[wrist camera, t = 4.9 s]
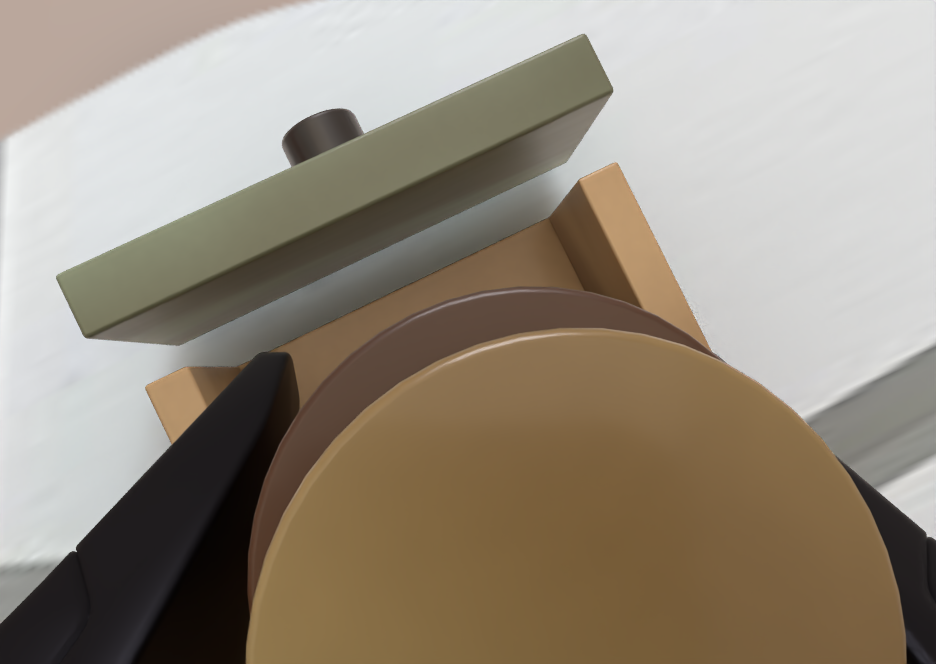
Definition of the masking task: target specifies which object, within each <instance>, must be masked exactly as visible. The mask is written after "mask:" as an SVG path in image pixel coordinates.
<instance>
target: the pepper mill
mask: <svg viewBox="0 0 936 664" xmlns="http://www.w3.org/2000/svg"><path fill="white" fill-rule="evenodd" d="M247 596H248V605H249V614H250V621H249V628H248V634H247V641H246V664H907V658H906V633H905V627H904V620H903V614H902V607H901V601H900V595H899V590H898V586H897V583H896V579H895V576H894V572H893V569H892V565H891V562H890V558H889V555H888V551H887V549H886V546H885V544H884V542H883V539H882V537H881V535H880V532H879V530H878V528H877V525H876V523H875V521H874V518H873V516H872V513H871V511H870V509H869V508H868V506H867V504H866V503H865V501H864V499H863V497H862V496H861V494H860V492H859V491H858V489H857V487H856V485H855V484H854V482H853V480H852V479H851V477H850V475H849V474H848V472H847V471H846V470H845V468H844V467H843V466H842V464H841V463H840V462H839V461H838V459H837V458H836V457H835V455H834V454H833V453H832V451H831V450H830V449H829V448H828V446H827V445H826V444H825V442H824V441H823V440H822V438H821V437H820V436H819V435H818V434H817V433H816V432H815V431H814V430H813V429H812V428H811V427H810V426H809V425H808V424H807V423H806V422H805V421H804V420H803V419H802V418H801V417H800V416H799V415H798V414H797V413H796V412H795V411H794V410H793V409H792V408H791V407H790V406H788V405H787V404H786V403H784V402H783V401H782V400H781V399H779V398H778V397H777V396H775V395H774V394H773V393H772V392H770V391H769V390H768V389H766V388H765V387H764V386H763V385H761V384H760V383H759V382H757V381H755V380H754V379H752V378H750V377H749V376H747V375H745V374H743V373H742V372H740V371H738V370H737V369H735V368H733V367H732V366H730V365H728V364H726V363H725V362H723V361H722V360H721V359H720V358H719V357H718V356H717V355H715V354H714V353H713V352H711V351H710V350H709V349H708V348H706V347H705V346H704V345H702V344H701V343H700V342H699V341H697V340H696V339H695V338H693V337H692V336H691V335H690V334H688V333H686V332H685V331H683V330H681V329H680V328H678V327H676V326H675V325H673V324H671V323H669V322H668V321H666V320H664V319H663V318H661V317H659V316H658V315H655V314H653V313H651V312H648V311H646V310H643V309H641V308H639V307H636V306H634V305H632V304H629V303H627V302H625V301H621V300H618V299H614V298H610V297H607V296H603V295H600V294H596V293H592V292H588V291H581V290H574V289H566V288H559V287H526V286H517V287H509V288H501V289H493V290H485V291H479V292H475V293H471V294H468V295H464V296H460V297H456V298H452V299H448V300H445V301H443V302H440V303H438V304H435V305H433V306H430V307H428V308H425V309H423V310H420V311H418V312H415V313H413V314H411V315H409V316H407V317H406V318H404V319H402V320H400V321H398V322H397V323H395V324H393V325H391V326H390V327H388V328H386V329H384V330H383V331H381V332H379V333H378V334H377V335H375V336H374V337H373V338H371V339H370V340H369V341H367V342H366V343H365V344H363V345H362V346H361V347H359V348H358V349H357V350H355V351H354V352H353V353H351V354H350V355H349V356H348V357H347V358H346V359H345V360H344V361H343V362H342V363H341V364H340V365H339V366H338V367H337V368H336V369H335V370H334V371H332V372H331V373H330V374H329V375H328V376H327V377H326V378H325V379H324V380H323V381H322V383H321V384H320V385H319V386H318V388H317V389H316V390H315V392H314V393H313V394H312V395H311V397H310V398H309V399H308V400H307V402H306V403H305V404H304V405H303V407H302V408H301V409H300V411H299V412H298V414H297V415H296V417H295V419H294V420H293V422H292V424H291V426H290V427H289V429H288V431H287V432H286V434H285V436H284V437H283V439H282V441H281V442H280V444H279V446H278V449H277V451H276V453H275V456H274V458H273V460H272V463H271V465H270V467H269V469H268V472H267V474H266V476H265V479H264V482H263V485H262V489H261V492H260V496H259V499H258V503H257V506H256V510H255V513H254V517H253V524H252V531H251V538H250V544H249V551H248V577H247Z"/></svg>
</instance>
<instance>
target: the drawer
mask: <svg viewBox="0 0 936 664" xmlns="http://www.w3.org/2000/svg"><path fill="white" fill-rule="evenodd" d="M612 93H613V87H612V85H611V83H610V81H609V79H608V77H607V75H606V73H605V71H604V69H603V67H602V65H601V63H600V61H599V59H598V57H597V55H596V53H595V51H594V49H593V47H592V45H591V43H590V41H589V39H588V37H587V36H586V35H585V34H581V35H579V36H577V37H575V38H572V39H570V40H568V41H566V42H564V43H561V44H559V45H557V46H555V47H553V48H551V49H548V50H546V51H544V52H542V53H540V54H537V55H535V56H533V57H531V58H529V59H527V60H524V61H522V62H520V63H518V64H516V65H513V66H511V67H509V68H507V69H505V70H503V71H500V72H498V73H496V74H494V75H492V76H489V77H487V78H485V79H483V80H481V81H479V82H476V83H474V84H472V85H470V86H468V87H465V88H463V89H461V90H459V91H457V92H455V93H452V94H450V95H448V96H446V97H444V98H441V99H439V100H437V101H435V102H433V103H431V104H428V105H426V106H424V107H422V108H420V109H417V110H415V111H413V112H411V113H409V114H407V115H404V116H402V117H400V118H398V119H396V120H393V121H391V122H389V123H387V124H385V125H383V126H380V127H378V128H376V129H374V130H372V131H369V132H367V133H365V134H364V133H363V131H362V129H361V127H360V125H359V123H358V121H357V119H356V117H355V115H354V114H353V113H352V112H351V111H350V110H347V109H340V108H339V109H330V110H326V111H322V112H319V113H317V114H314V115H312V116H310V117H308V118H306V119H304V120H302V121H300V122H299V123H297V124H296V125H295V126H293V127H292V128H291V129H290V130H289V131H288V132H287V133H286V134H285V136H284V137H283V140H282V148H283V150H284V152H285V154H286V156H287V158H288V160H289V162H290V164H291V166H292V167H291V168H289V169H287V170H284V171H282V172H280V173H278V174H276V175H274V176H271V177H269V178H267V179H265V180H263V181H260V182H258V183H256V184H254V185H252V186H250V187H247V188H245V189H243V190H241V191H239V192H236V193H234V194H232V195H230V196H228V197H226V198H223V199H221V200H219V201H217V202H215V203H212V204H210V205H208V206H206V207H204V208H202V209H199V210H197V211H195V212H193V213H191V214H188V215H186V216H184V217H182V218H180V219H178V220H175V221H173V222H171V223H169V224H167V225H164V226H162V227H160V228H158V229H156V230H154V231H151V232H149V233H147V234H145V235H143V236H140V237H138V238H136V239H134V240H132V241H130V242H127V243H125V244H123V245H121V246H119V247H116V248H114V249H112V250H110V251H108V252H106V253H103V254H101V255H99V256H97V257H95V258H92V259H90V260H88V261H86V262H84V263H82V264H79V265H77V266H75V267H73V268H71V269H68V270H66V271H64V272H62V273H60V274H58V275H57V276H56V279H57V281H58V283H59V285H60V288H61V290H62V292H63V294H64V296H65V298H66V300H67V302H68V304H69V306H70V309H71V311H72V313H73V315H74V317H75V319H76V321H77V323H78V325H79V327H80V330H81V332H82V334H83V336H84V337H85V338H88V339H101V340H113V341H125V342H138V343H150V344H163V345H175V346H179V345H182V344H184V343H186V342H188V341H190V340H192V339H195V338H197V337H199V336H201V335H203V334H205V333H207V332H209V331H211V330H214V329H216V328H218V327H220V326H222V325H224V324H226V323H228V322H230V321H233V320H235V319H237V318H239V317H241V316H243V315H245V314H247V313H249V312H252V311H254V310H256V309H258V308H260V307H262V306H264V305H266V304H268V303H271V302H273V301H275V300H277V299H279V298H281V297H283V296H285V295H288V294H290V293H292V292H294V291H296V290H298V289H300V288H302V287H304V286H307V285H309V284H311V283H313V282H315V281H317V280H319V279H321V278H323V277H326V276H328V275H330V274H332V273H334V272H336V271H338V270H340V269H342V268H345V267H347V266H349V265H351V264H353V263H355V262H357V261H359V260H361V259H364V258H366V257H368V256H370V255H372V254H374V253H376V252H378V251H380V250H383V249H385V248H387V247H389V246H391V245H393V244H395V243H397V242H399V241H402V240H404V239H406V238H408V237H410V236H412V235H414V234H416V233H418V232H421V231H423V230H425V229H427V228H429V227H431V226H433V225H435V224H437V223H440V222H442V221H444V220H446V219H448V218H450V217H452V216H454V215H456V214H459V213H461V212H463V211H465V210H467V209H469V208H471V207H473V206H475V205H478V204H480V203H482V202H484V201H486V200H488V199H490V198H492V197H495V196H497V195H499V194H501V193H503V192H505V191H507V190H509V189H511V188H514V187H516V186H518V185H520V184H522V183H524V182H526V181H528V180H530V179H533V178H535V177H537V176H539V175H541V174H543V173H545V172H547V171H549V170H552V169H554V168H556V167H558V166H560V165H562V164H564V163H566V162H567V161H568V159H569V158H570V156H571V155H572V153H573V152H574V150H575V149H576V147H577V146H578V144H579V143H580V141H581V140H582V138H583V137H584V135H585V134H586V132H587V131H588V129H589V128H590V126H591V125H592V123H593V122H594V120H595V119H596V117H597V116H598V114H599V113H600V111H601V110H602V108H603V107H604V105H605V104H606V102H607V101H608V99H609V98H610V96H611V95H612ZM517 286H526V287H559V288H566V289H574V290H581V291H588V292H592V293H596V294H600V295H603V296H607V297H610V298H614V299H618V300H621V301H625V302H627V303H629V304H632V305H634V306H636V307H639V308H641V309H643V310H646V311H648V312H651V313H653V314H655V315H658V316H659V317H661V318H663V319H664V320H666V321H668V322H669V323H671V324H673V325H675V326H676V327H678V328H680V329H681V330H683V331H685V332H686V333H688V334H690V335H691V336H692V337H693V338H695V339H696V340H697V341H699V342H700V343H701V344H702V345H704V346H705V347H706V348H708V349H709V350H710V351H711V349H710V347H709V345H708V343H707V341H706V339H705V337H704V335H703V333H702V331H701V329H700V327H699V325H698V323H697V321H696V319H695V317H694V315H693V313H692V311H691V309H690V307H689V305H688V303H687V301H686V299H685V297H684V295H683V293H682V291H681V289H680V287H679V285H678V283H677V281H676V279H675V277H674V275H673V273H672V271H671V269H670V267H669V265H668V263H667V261H666V259H665V257H664V255H663V253H662V251H661V249H660V247H659V245H658V243H657V241H656V239H655V237H654V235H653V233H652V231H651V229H650V227H649V225H648V223H647V221H646V219H645V217H644V215H643V213H642V211H641V209H640V207H639V205H638V203H637V201H636V199H635V197H634V195H633V193H632V191H631V189H630V187H629V185H628V183H627V181H626V179H625V177H624V175H623V173H622V171H621V169H620V167H619V165H618V163H612V164H610V165H608V166H606V167H604V168H602V169H600V170H597V171H595V172H593V173H591V174H589V175H587V176H585V177H583V178H581V179H579V180H578V182H577V183H576V184H575V185H574V187H573V188H572V189H571V190H570V192H569V193H568V194H567V195H566V197H565V198H564V199H563V200H562V202H561V203H560V204H559V206H558V207H557V208H556V209H555V211H554V212H553V213H552V214H551V216H550V217H548V218H546V219H544V220H542V221H540V222H538V223H536V224H534V225H532V226H530V227H528V228H525V229H523V230H521V231H519V232H517V233H515V234H513V235H511V236H509V237H507V238H505V239H503V240H500V241H498V242H496V243H494V244H492V245H490V246H488V247H486V248H484V249H482V250H480V251H477V252H475V253H473V254H471V255H469V256H467V257H465V258H463V259H461V260H459V261H457V262H455V263H452V264H450V265H448V266H446V267H444V268H442V269H440V270H438V271H436V272H434V273H432V274H429V275H427V276H425V277H423V278H421V279H419V280H417V281H415V282H413V283H411V284H409V285H407V286H404V287H402V288H400V289H398V290H396V291H394V292H392V293H390V294H388V295H386V296H384V297H381V298H379V299H377V300H375V301H373V302H371V303H369V304H367V305H365V306H363V307H361V308H359V309H356V310H354V311H352V312H350V313H348V314H346V315H344V316H342V317H340V318H338V319H336V320H333V321H331V322H329V323H327V324H325V325H323V326H321V327H319V328H317V329H315V330H313V331H311V332H308V333H306V334H304V335H302V336H300V337H298V338H296V339H294V340H292V341H290V342H288V343H285V344H283V345H281V346H279V347H277V348H275V349H273V350H271V351H269V352H287V353H289V354H290V355H291V357H292V359H293V364H294V369H295V374H296V380H297V385H298V390H299V398H300V408H299V411H300V409H301V408H302V407H303V405H304V404H305V403H306V402H307V400H308V399H309V398H310V397H311V395H312V394H313V393H314V392H315V390H316V389H317V388H318V386H319V385H320V384H321V383H322V381H323V380H324V379H325V378H326V377H327V376H328V375H329V374H330V373H331V372H332V371H334V370H335V369H336V368H337V367H338V366H339V365H340V364H341V363H342V362H343V361H344V360H345V359H346V358H347V357H348V356H349V355H350V354H351V353H353V352H354V351H355V350H357V349H358V348H359V347H361V346H362V345H363V344H365V343H366V342H367V341H369V340H370V339H371V338H373V337H374V336H375V335H377V334H378V333H379V332H381V331H383V330H384V329H386V328H388V327H390V326H391V325H393V324H395V323H397V322H398V321H400V320H402V319H404V318H406V317H407V316H409V315H411V314H413V313H415V312H418V311H420V310H423V309H425V308H428V307H430V306H433V305H435V304H438V303H440V302H443V301H445V300H448V299H452V298H456V297H460V296H464V295H468V294H471V293H475V292H479V291H485V290H493V289H501V288H509V287H517ZM711 352H712V351H711ZM250 361H251V360H250ZM250 361H248V362H246V363H244V364H242V365H240V366H237V367H184V368H182V369H180V370H177V371H175V372H173V373H171V374H169V375H167V376H165V377H163V378H161V379H159V380H156V381H154V382H152V383H150V384H148V385H147V386H146V387H145V389H146V391H147V393H148V396H149V398H150V400H151V402H152V404H153V406H154V408H155V410H156V412H157V414H158V416H159V419H160V421H161V423H162V425H163V427H164V429H165V431H166V433H167V435H168V437H169V440H170V442H171V444H173V443H174V442H175V441H176V440H177V439H178V438H179V437H180V436H181V435H182V433H183V432H184V431H185V430H186V429H187V428H188V427H189V426H190V425H191V424H192V423H193V422H194V421H195V420H196V419H197V418H198V416H199V415H200V414H201V413H202V412H203V411H204V410H205V409H206V408H207V407H208V406H209V405H210V404H211V403H212V402H213V401H214V399H215V398H216V397H217V396H218V395H219V394H220V393H221V392H222V391H223V390H224V389H225V388H226V387H227V386H228V385H229V384H230V383H231V381H232V380H233V379H234V378H235V377H236V376H237V375H238V374H239V373H240V372H241V371H242V370H243V369H244V368H245V367H246V366H247V364H248V363H249V362H250Z"/></svg>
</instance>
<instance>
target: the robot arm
mask: <svg viewBox="0 0 936 664" xmlns="http://www.w3.org/2000/svg"><path fill="white" fill-rule="evenodd" d="M715 355H716V354H715ZM718 357H719V356H718ZM719 358H720V357H719ZM720 359H721V358H720ZM721 360H722V359H721ZM722 361H723V360H722ZM723 362H725V361H723ZM725 363H726V362H725ZM726 364H727V363H726ZM299 408H300V398H299V390H298V385H297V380H296V374H295V369H294V364H293V359H292V357H291V355H290V354H289V353H287V352H261V353H259V354H257V355H256V356H255V357H254V358H253V359H252V360H251V361H250V362H249V363H248V364H247V366H246V367H245V368H244V369H243V370H242V371H241V372H240V373H239V374H238V375H237V376H236V377H235V378H234V379H233V380H232V381H231V383H230V384H229V385H228V386H227V387H226V388H225V389H224V390H223V391H222V392H221V393H220V394H219V395H218V396H217V397H216V398H215V399H214V401H213V402H212V403H211V404H210V405H209V406H208V407H207V408H206V409H205V410H204V411H203V412H202V413H201V414H200V415H199V416H198V418H197V419H196V420H195V421H194V422H193V423H192V424H191V425H190V426H189V427H188V428H187V429H186V430H185V431H184V432H183V433H182V435H181V436H180V437H179V438H178V439H177V440H176V441H175V442H174V443H173V444H172V445H171V446H170V447H169V448H168V449H167V450H166V452H165V453H164V454H163V455H162V456H161V457H160V458H159V459H158V460H157V461H156V462H155V463H154V464H153V465H152V466H151V467H150V468H149V470H148V471H147V472H146V473H145V474H144V475H143V476H142V477H141V478H140V479H139V480H138V481H137V482H136V483H135V484H134V485H133V487H132V488H131V489H130V490H129V491H128V492H127V493H126V494H125V495H124V496H123V497H122V498H121V499H120V500H119V501H118V502H117V504H116V505H115V506H114V507H113V508H112V509H111V510H110V511H109V512H108V513H107V514H106V515H105V516H104V517H103V518H102V519H101V521H100V522H99V523H98V524H97V525H96V526H95V527H94V528H93V529H92V530H91V531H90V532H89V533H88V534H87V535H86V536H85V537H84V539H83V540H82V541H81V542H80V543H79V544H78V545H77V547H76V551H77V552H75V551H72V552H70V553H69V554H68V555H67V556H66V557H65V558H64V559H63V560H62V562H61V563H60V564H59V565H58V566H57V567H56V568H55V569H54V570H53V571H52V572H51V573H50V574H49V575H48V576H47V577H46V578H45V579H44V581H43V582H42V583H41V584H40V585H39V586H38V587H37V588H36V589H35V590H34V591H33V592H32V593H31V594H30V595H29V596H28V597H27V598H26V599H25V600H24V601H23V602H22V603H21V604H20V605H19V606H18V607H17V608H16V609H15V610H14V611H13V612H12V613H11V614H10V615H9V616H8V617H7V618H6V619H5V620H4V621H3V622H2V623H1V624H0V664H246V641H247V634H248V628H249V621H250V614H249V605H248V596H247V577H248V551H249V544H250V538H251V531H252V524H253V517H254V513H255V510H256V506H257V503H258V499H259V496H260V492H261V489H262V485H263V482H264V479H265V476H266V474H267V472H268V469H269V467H270V465H271V463H272V460H273V458H274V456H275V453H276V451H277V449H278V446H279V444H280V442H281V441H282V439H283V437H284V436H285V434H286V432H287V431H288V429H289V427H290V426H291V424H292V422H293V420H294V419H295V417H296V415H297V414H298V412H299ZM835 457H836V456H835ZM836 458H837V459H838V461H839V462H840V463H841V464H842V466H843V467H844V468H845V470H846V471H847V472H848V474H849V475H850V477H851V479H852V480H853V482H854V484H855V485H856V487H857V489H858V491H859V492H860V494H861V496H862V497H863V499H864V501H865V503H866V504H867V506H868V508H869V509H870V511H871V513H872V516H873V518H874V521H875V523H876V525H877V528H878V530H879V532H880V535H881V537H882V539H883V542H884V544H885V546H886V549H887V551H888V555H889V558H890V562H891V565H892V569H893V572H894V576H895V579H896V583H897V586H898V590H899V595H900V601H901V607H902V614H903V620H904V627H905V633H906V658H907V664H936V540H935V539H933V538H932V537H927V535H926V532H925V531H924V530H922V529H921V528H920V527H919V526H918V525H917V524H915V523H914V522H913V521H912V520H911V519H910V518H908V517H907V516H906V515H905V514H904V513H902V512H901V511H900V510H899V509H898V508H897V507H895V506H894V505H893V504H892V503H891V502H890V501H888V500H887V499H886V498H885V497H884V496H882V495H881V494H880V493H879V492H878V491H877V490H875V489H874V488H873V487H872V486H871V485H869V484H868V483H867V482H866V481H865V480H864V479H862V478H861V477H860V476H859V475H858V474H857V473H855V472H854V471H853V470H852V469H851V468H849V467H848V466H847V465H846V464H845V463H844V462H842V461H841V460H840V459H839V458H838V457H836Z"/></svg>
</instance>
